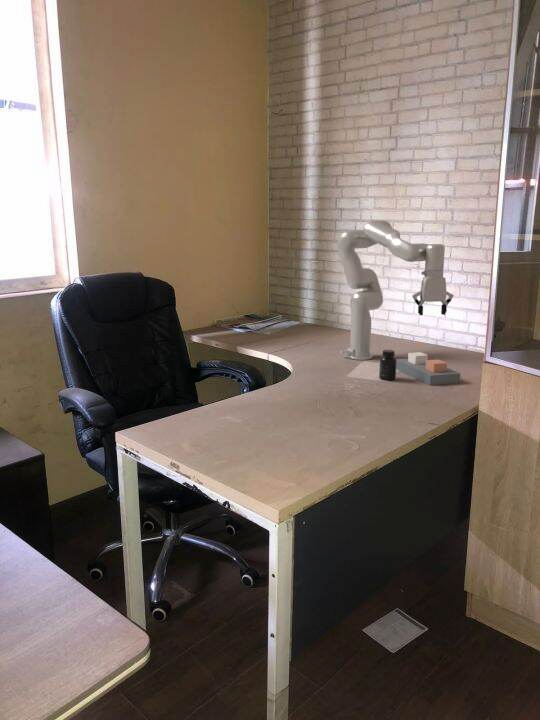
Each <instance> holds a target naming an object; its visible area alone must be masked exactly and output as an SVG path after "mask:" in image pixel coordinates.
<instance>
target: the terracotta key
mask: <svg viewBox="0 0 540 720" xmlns="http://www.w3.org/2000/svg"><path fill="white" fill-rule="evenodd" d="M447 364H448V362H445V361H443V360H441V359H430V360H429V359H428V360H426V368H425V369H426V370H428V371H430V372H433V373H436V372H446V368H448V367H447V366H448V365H447Z"/></svg>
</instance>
